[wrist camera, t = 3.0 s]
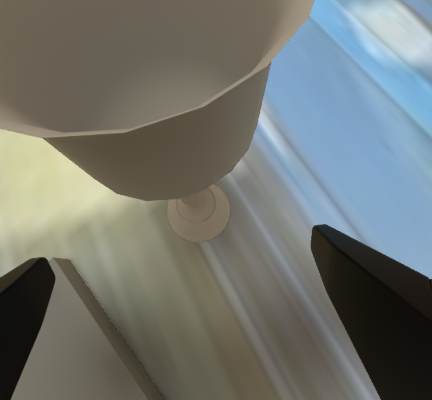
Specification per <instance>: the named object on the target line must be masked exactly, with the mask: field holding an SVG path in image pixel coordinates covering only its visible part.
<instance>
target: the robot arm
mask: <svg viewBox="0 0 432 400" xmlns="http://www.w3.org/2000/svg"><path fill="white" fill-rule="evenodd" d="M311 251H312V254H313V257H314V259H315V262H316V265H317V268H318V270H319V273H320V276H321V278H322V281H323V284H324V286H325V289H326V291H327V294H328V296H329V298H330V300H331V302H332V304H333V306H334V308H335V310H336V312H337V314H338V316H339V318H340V320H341V322H342V323H343V325H344V327H345V329H346V331H347V333H348V335H349V337H350V339H351V341H352V343H353V345H354V347H355V349H356V351H357V353H358V355H359V357H360V359H361V361H362V363H363V365H364V367H365V369H366V371H367V373H368V375H369V377H370V379H371V381H372V383H373V385H374V387H375V389H376V391H377V393H378V395H379V397H380V399H381V400H432V279H429V278H428V277H427V276H425V275H423V274H421V273H419V272H417V271H415V270H413V269H411V268H409V267H407V266H405V265H403V264H401V263H400V262H398V261H396V260H394V259H392V258H390V257H388V256H386V255H384V254H382V253H380V252H378V251H376V250H374V249H373V248H371V247H369V246H367V245H365V244H363V243H361V242H359V241H357V240H355V239H353V238H351V237H349V236H347V235H346V234H344V233H342V232H340V231H338V230H336V229H334V228H332V227H330V226H328V225H326V224H322V225H315V226H314V227H313V228H312V236H311ZM55 281H56V277H55V274H54V272H53V270H52V268H51V266H50V264H49V262H48V260H47V259H46V258H45V257H38V258H31V259H29V260H28V261H26V262H24V263H23V264H21V265H20V266H18V267H16V268H15V269H13V270H12V271H10V272H8V273H7V274H5V275H4V276H2V277H1V278H0V400H11V398H12V396H13V393H14V391H15V389H16V386H17V384H18V381H19V379H20V377H21V374H22V372H23V370H24V367H25V365H26V362H27V360H28V358H29V355H30V353H31V351H32V348H33V346H34V343H35V341H36V339H37V336H38V334H39V331H40V329H41V326H42V324H43V321H44V318H45V314H46V311H47V308H48V305H49V301H50V298H51V295H52V291H53V288H54V285H55Z"/></svg>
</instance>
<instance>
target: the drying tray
mask: <svg viewBox="0 0 432 400" xmlns="http://www.w3.org/2000/svg"><path fill="white" fill-rule="evenodd" d="M48 262H49V264H50V266H51V268H52V270H53V272H54V274H55V277H56V281H55V285H54V288H53V291H52V295H51V298H50V301H49V305H48V308H47V311H46V314H45V318H44V321H43V324H42V326H41V329H40V331H39V334H38V336H37V339H36V341H35V343H34V346H33V348H32V351H31V353H30V355H29V358H28V360H27V362H26V365H25V367H24V370H23V372H22V374H21V377H20V379H19V381H18V384H17V386H16V389H15V391H14V393H13V396H12V398H11V400H164V399H163V398H162V396H161V395H160V393H159V392H158V390H157V389H156V387H155V386H154V384H153V383H152V381H151V380H150V378H149V377H148V375H147V374H146V373H145V371H144V370H143V368H142V367H141V365H140V364H139V362H138V361H137V359H136V358H135V356H134V355H133V353H132V352H131V350H130V349H129V348H128V346H127V345H126V343H125V342H124V340H123V339H122V337H121V336H120V334H119V333H118V331H117V330H116V328H115V327H114V325H113V324H112V323H111V321H110V320H109V318H108V317H107V315H106V314H105V312H104V311H103V309H102V308H101V306H100V305H99V303H98V302H97V300H96V299H95V298H94V296H93V295H92V293H91V292H90V290H89V289H88V287H87V286H86V284H85V283H84V281H83V280H82V278H81V277H80V275H79V274H78V273H77V271H76V270H75V268H74V267H73V265H72V264H71V262H70V261H69V260H68V259H61V258H52V259H51V260H49V261H48Z"/></svg>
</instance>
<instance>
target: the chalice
mask: <svg viewBox="0 0 432 400" xmlns="http://www.w3.org/2000/svg"><path fill="white" fill-rule="evenodd" d="M313 3H314V0H0V129H4V130H9V131H13V132H17V133H22V134H26V135H30V136H35V137H39V138H43V139H44V140H45V141H47V142H48V143H49V144H51V145H52V146H53V147H54V148H56V149H57V150H58V151H59V152H61V153H62V154H63V155H65V156H66V157H67V158H68V159H70V160H71V161H72V162H74V163H75V164H76V165H77V166H79V167H80V168H81V169H82V170H84V171H85V172H86V173H88V174H89V175H90V176H91V177H93V178H94V179H95V180H97V181H98V182H100V183H101V184H103V185H105V186H106V187H108V188H109V189H111V190H112V191H114V192H115V193H117V194H120V195H124V196H128V197H132V198H136V199H141V200H145V201H152V200H169V199H170V200H169V203H168V206H167V218H168V222H169V225H170V227H171V228H172V229H173V231H174V232H175V233H176V234H177V235H178V236H180V237H181V238H183V239H185V240H188V241H191V242H205V241H208V240H210V239H213V238H215V237H216V236H217V235H219V234H220V233H221V232H222V231H223V230H224V228H225V227H226V225H227V224H228V220H229V217H230V203H229V201H228V198H227V196H226V194H225V193H224V192H223V191H222V189H221V188H219V187H218V186H216V185H215V184H214V183H215V182H217V181H218V180H219V179H221V178H222V177H224V176H225V175H227V174H228V173H230V172H231V171H232V169H233V168H234V167H235V166H236V164H237V163H238V162H239V161H240V159H241V158H242V157H243V156H244V154H245V153H246V152H247V150H248V149H249V146H250V143H251V140H252V138H253V135H254V132H255V129H256V126H257V123H258V118H259V114H260V109H261V105H262V101H263V96H264V92H265V87H266V83H267V79H268V74H269V70H270V65H271V61H272V59H273V58H274V57H275V56H276V55H277V54H278V52H279V51H280V50H281V49H282V48H283V47H284V45H285V44H286V43H287V42H288V41H289V39H290V38H291V37H292V36H293V35H294V34H295V32H296V31H297V30H298V29H299V28H300V27H301V25H302V24H303V23H304V22H305V21H306V19H307V18H308V17H309V14H310V12H311V9H312V6H313Z"/></svg>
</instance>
